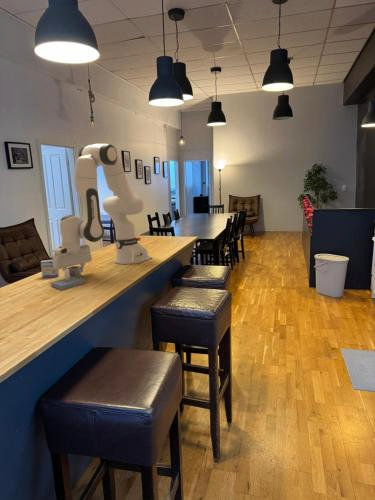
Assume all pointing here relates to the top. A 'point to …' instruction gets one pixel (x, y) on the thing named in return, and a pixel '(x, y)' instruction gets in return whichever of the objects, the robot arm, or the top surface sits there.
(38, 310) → the top surface
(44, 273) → the medicine box
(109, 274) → the top surface
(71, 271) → the tube
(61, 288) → the shaft block
